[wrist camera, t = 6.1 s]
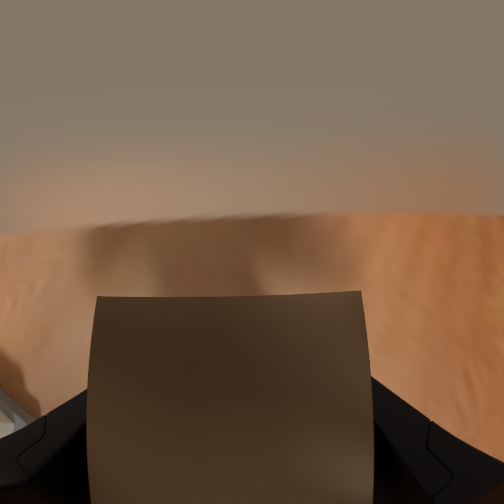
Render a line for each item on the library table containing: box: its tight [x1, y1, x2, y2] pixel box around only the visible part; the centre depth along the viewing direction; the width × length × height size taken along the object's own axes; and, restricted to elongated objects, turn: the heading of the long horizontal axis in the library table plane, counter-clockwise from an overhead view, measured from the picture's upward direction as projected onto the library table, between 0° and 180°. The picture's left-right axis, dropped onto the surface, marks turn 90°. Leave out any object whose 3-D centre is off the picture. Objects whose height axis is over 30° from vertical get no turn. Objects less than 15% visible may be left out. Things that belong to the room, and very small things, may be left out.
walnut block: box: [87, 291, 374, 504], centre depth 8 cm, size 5×5×10 cm
